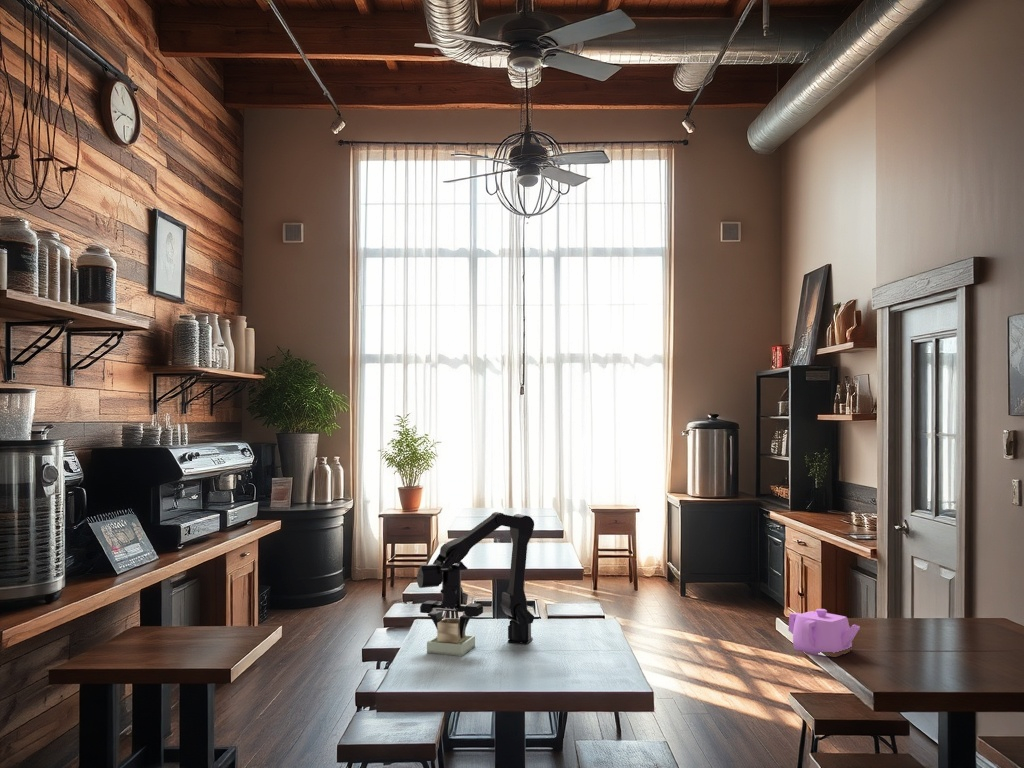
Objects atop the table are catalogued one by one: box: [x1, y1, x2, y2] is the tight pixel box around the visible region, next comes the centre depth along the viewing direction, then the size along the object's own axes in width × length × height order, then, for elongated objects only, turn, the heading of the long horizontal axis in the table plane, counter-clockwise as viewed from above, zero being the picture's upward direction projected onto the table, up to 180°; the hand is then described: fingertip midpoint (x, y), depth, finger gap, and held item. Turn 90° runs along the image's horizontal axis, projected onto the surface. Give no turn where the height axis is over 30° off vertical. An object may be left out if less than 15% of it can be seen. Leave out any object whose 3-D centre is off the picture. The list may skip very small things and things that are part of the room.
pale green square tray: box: [426, 634, 476, 657], centre depth 249 cm, size 11×11×3 cm
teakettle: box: [788, 608, 861, 656], centre depth 247 cm, size 17×17×12 cm
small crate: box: [436, 617, 466, 644], centre depth 249 cm, size 6×6×6 cm
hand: (451, 637), depth 249 cm, fingers closed on small crate, 6 cm apart
